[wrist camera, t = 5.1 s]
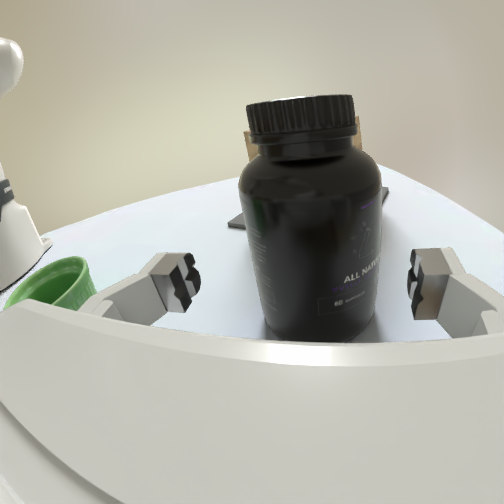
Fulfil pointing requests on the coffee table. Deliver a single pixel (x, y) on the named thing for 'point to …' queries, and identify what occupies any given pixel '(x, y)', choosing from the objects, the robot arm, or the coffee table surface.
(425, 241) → the coffee table surface
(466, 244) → the coffee table surface
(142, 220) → the coffee table surface
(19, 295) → the ramekin
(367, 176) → the supplement bottle
